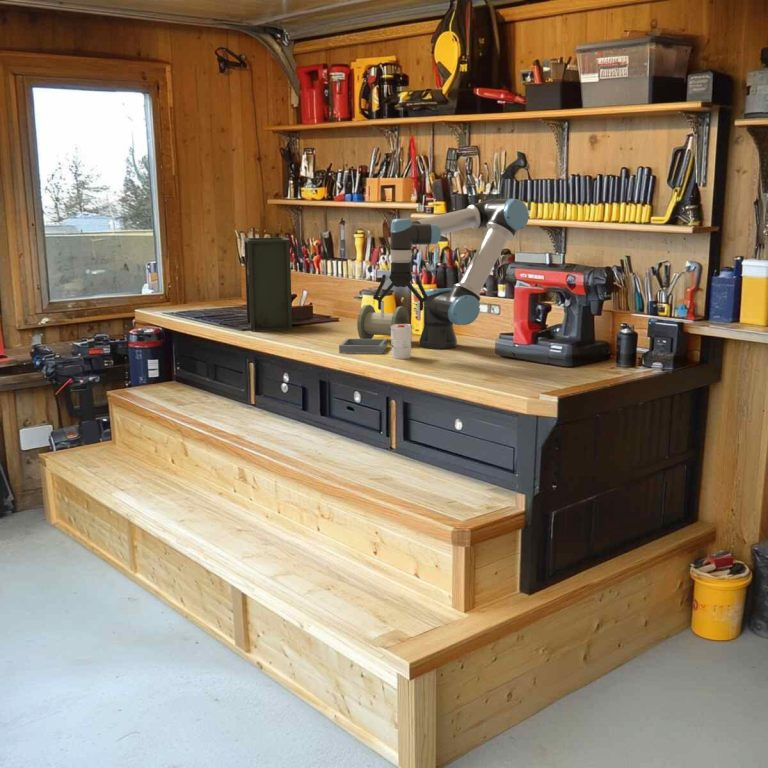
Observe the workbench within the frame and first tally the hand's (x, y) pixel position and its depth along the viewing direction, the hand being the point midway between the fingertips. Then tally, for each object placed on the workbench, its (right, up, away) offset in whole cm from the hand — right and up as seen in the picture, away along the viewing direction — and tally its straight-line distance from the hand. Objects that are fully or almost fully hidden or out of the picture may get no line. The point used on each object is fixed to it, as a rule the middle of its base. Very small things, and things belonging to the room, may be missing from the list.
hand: (400, 319), depth 338 cm
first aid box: (-58, +1, +77) cm, 97 cm away
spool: (-6, -7, +37) cm, 38 cm away
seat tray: (-14, -11, +19) cm, 26 cm away
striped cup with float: (0, -14, +3) cm, 15 cm away
